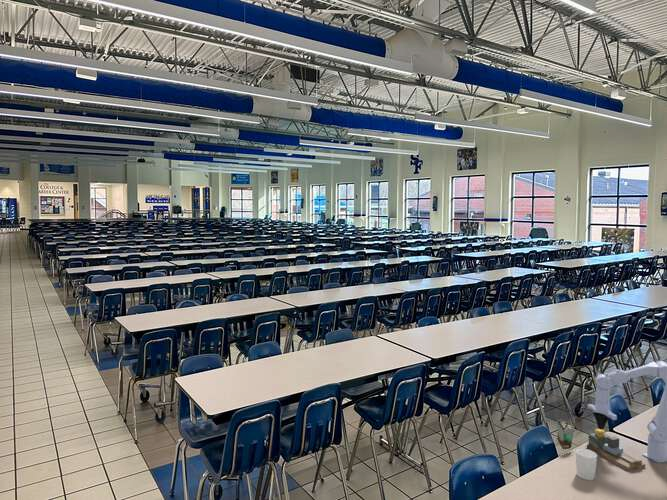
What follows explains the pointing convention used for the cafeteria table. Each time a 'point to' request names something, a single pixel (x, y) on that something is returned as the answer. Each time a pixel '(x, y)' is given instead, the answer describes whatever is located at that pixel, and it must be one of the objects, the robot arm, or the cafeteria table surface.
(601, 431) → the button
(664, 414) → the robot arm
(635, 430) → the cafeteria table surface
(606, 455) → the rail board
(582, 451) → the white cup
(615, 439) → the carriage
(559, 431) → the food container
